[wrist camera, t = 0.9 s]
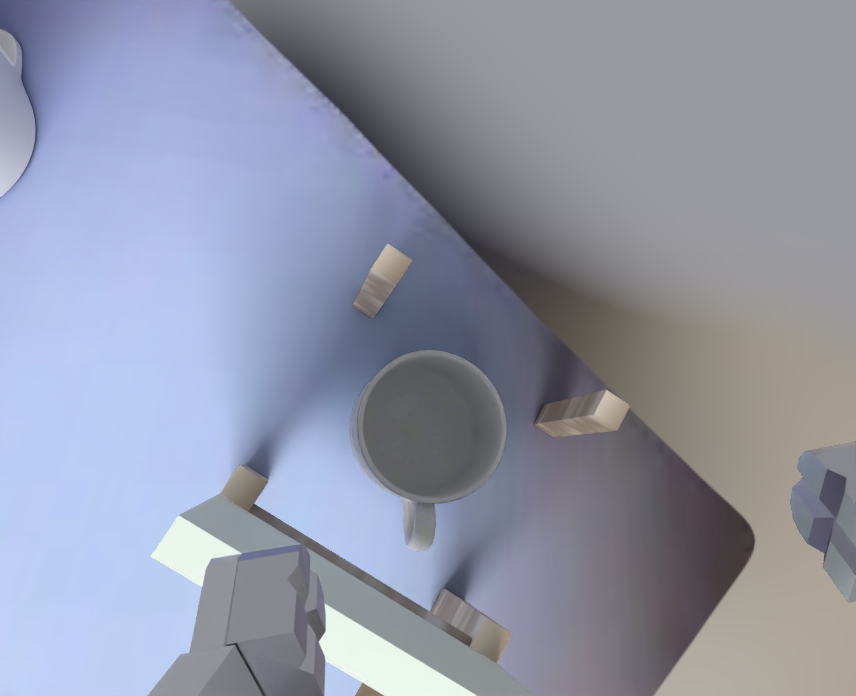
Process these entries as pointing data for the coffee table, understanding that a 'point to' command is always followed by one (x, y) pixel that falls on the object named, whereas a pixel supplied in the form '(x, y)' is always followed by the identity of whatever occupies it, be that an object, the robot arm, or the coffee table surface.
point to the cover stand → (448, 609)
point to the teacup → (428, 434)
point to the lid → (344, 613)
